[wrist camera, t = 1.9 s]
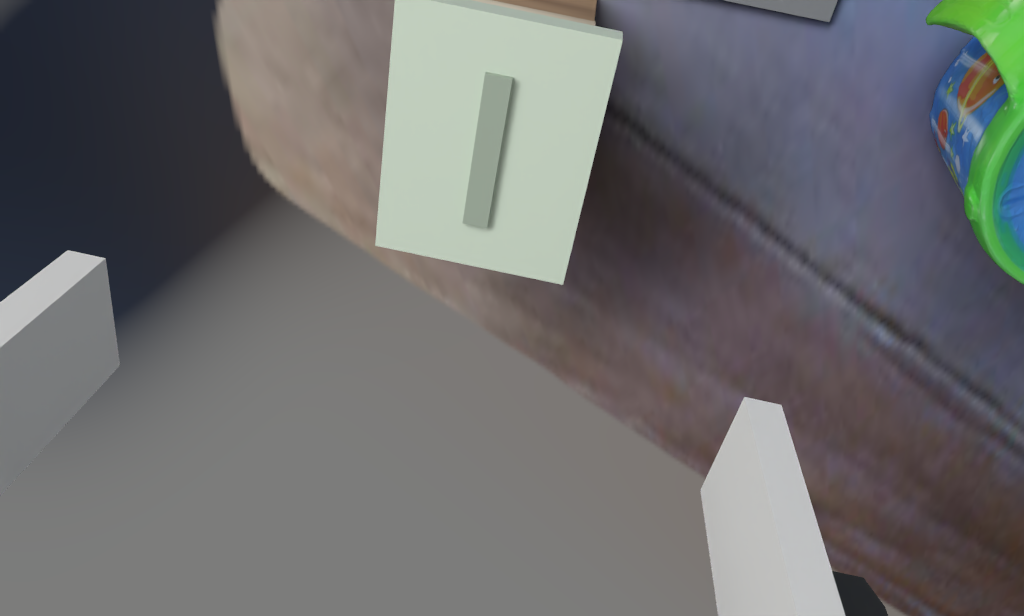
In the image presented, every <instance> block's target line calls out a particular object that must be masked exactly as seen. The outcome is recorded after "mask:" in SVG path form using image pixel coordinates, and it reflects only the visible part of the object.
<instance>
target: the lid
mask: <svg viewBox="0 0 1024 616" xmlns="http://www.w3.org/2000/svg"><path fill="white" fill-rule="evenodd" d="M622 42H623V32H622V31H617V30H613V29H608V28H603V27H598V26H593V25H588V24H584V23H579V22H574V21H569V20H564V19H559V18H555V17H550V16H545V15H540V14H535V13H530V12H526V11H521V10H516V9H511V8H506V7H501V6H497V5H492V4H487V3H482V2H477V1H472V0H395V7H394V19H393V31H392V44H391V56H390V69H389V81H388V94H387V106H386V119H385V131H384V144H383V156H382V169H381V181H380V193H379V206H378V218H377V231H376V243H375V246H380V247H385V248H389V249H394V250H399V251H404V252H409V253H413V254H418V255H423V256H428V257H432V258H437V259H442V260H447V261H452V262H456V263H461V264H466V265H471V266H475V267H480V268H485V269H490V270H494V271H499V272H504V273H509V274H514V275H518V276H523V277H528V278H533V279H537V280H542V281H547V282H552V283H557V284H561V285H563V283H564V279H565V275H566V270H567V266H568V262H569V258H570V254H571V250H572V246H573V242H574V238H575V234H576V230H577V226H578V221H579V217H580V213H581V209H582V205H583V201H584V197H585V193H586V189H587V185H588V181H589V176H590V172H591V168H592V164H593V160H594V156H595V152H596V148H597V144H598V140H599V136H600V132H601V127H602V123H603V119H604V115H605V111H606V107H607V103H608V99H609V95H610V91H611V87H612V82H613V78H614V74H615V70H616V66H617V62H618V58H619V54H620V50H621V46H622Z"/></svg>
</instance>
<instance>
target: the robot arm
mask: <svg viewBox="0 0 1024 616" xmlns="http://www.w3.org/2000/svg"><path fill="white" fill-rule="evenodd" d="M119 366H120V363H119V355H118V348H117V340H116V333H115V325H114V318H113V311H112V304H111V296H110V289H109V281H108V274H107V266H106V259H105V258H101V257H96V256H92V255H87V254H83V253H78V252H74V251H66V252H65V253H64V254H62V255H61V256H60V257H59V258H57V259H56V260H55V261H53V262H52V263H51V264H49V265H48V266H47V267H46V268H44V269H43V270H42V271H40V272H39V273H38V274H37V275H35V276H34V277H33V278H31V279H30V280H29V281H28V282H26V283H25V284H24V285H22V286H21V287H20V288H19V289H17V290H16V291H15V292H13V293H12V294H11V295H9V296H8V297H7V298H6V299H4V300H3V301H2V302H0V496H1V494H2V493H3V492H4V491H5V490H6V489H7V488H8V487H9V486H10V485H11V484H12V483H13V481H14V480H15V479H16V478H17V477H18V476H19V475H20V474H21V473H22V472H23V471H24V469H25V468H26V467H27V466H28V465H29V464H30V463H31V462H32V461H33V460H34V459H35V457H36V456H37V455H38V454H39V453H40V452H41V451H42V450H43V449H44V448H45V447H46V445H47V444H48V443H49V442H50V441H51V440H52V439H53V438H54V437H55V435H57V433H58V432H59V431H60V430H61V429H62V428H63V427H64V426H65V425H66V423H68V421H69V420H70V419H71V418H72V417H73V416H74V415H75V413H76V412H78V410H79V409H80V408H81V407H82V406H83V405H84V404H85V403H86V402H87V401H88V400H89V398H90V397H91V396H92V395H93V394H94V393H95V392H96V391H97V390H98V389H99V388H100V386H101V385H102V384H103V383H104V382H105V381H106V380H107V379H108V378H109V377H110V376H111V374H112V373H113V372H114V371H115V370H116V369H117V368H118V367H119ZM700 491H701V497H702V504H703V512H704V519H705V526H706V533H707V540H708V547H709V554H710V561H711V568H712V575H713V582H714V589H715V596H716V603H717V610H718V616H888V614H887V612H886V609H885V606H884V605H883V604H882V602H881V601H880V600H879V598H878V597H877V596H876V594H875V593H874V591H873V590H872V589H871V587H870V586H869V585H868V583H867V582H866V581H865V579H864V578H862V577H857V576H852V575H848V574H843V573H838V572H834V571H832V570H831V567H830V563H829V560H828V557H827V553H826V550H825V547H824V544H823V540H822V537H821V534H820V530H819V527H818V524H817V521H816V517H815V514H814V511H813V507H812V504H811V501H810V498H809V494H808V491H807V488H806V484H805V481H804V478H803V475H802V471H801V468H800V465H799V461H798V458H797V455H796V451H795V448H794V445H793V442H792V438H791V435H790V432H789V428H788V425H787V422H786V419H785V415H784V412H783V409H782V405H779V404H775V403H770V402H765V401H761V400H756V399H752V398H747V397H744V399H743V401H742V403H741V405H740V407H739V410H738V412H737V414H736V416H735V418H734V420H733V422H732V424H731V427H730V429H729V431H728V433H727V435H726V437H725V439H724V441H723V444H722V446H721V448H720V450H719V452H718V454H717V456H716V458H715V461H714V463H713V465H712V467H711V469H710V471H709V473H708V475H707V478H706V480H705V482H704V484H703V486H702V488H701V490H700Z"/></svg>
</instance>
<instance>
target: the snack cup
mask: <svg viewBox="0 0 1024 616" xmlns="http://www.w3.org/2000/svg"><path fill="white" fill-rule="evenodd" d="M926 23H927V24H928V25H933V24H935V25H941V26H945V27H948V28H952V29H955V30H959V31H962V32H964V33H967V34H970V35H973V36H974V37H973V38H972V39H971V40H970V42H969V43H968V44H967V45H966V46H965V47H964V48H963V49H961V51H960V54H959V55H958V57H957V58H956V59H955V60H954V61H953V62H952V64H951V65H950V67H949V68H948V70H947V71H946V73H945V74H944V76H943V77H942V79H941V81H940V83H939V85H938V87H937V89H936V92H935V97H934V101H933V107H932V110H931V112H930V121H931V128H932V131H933V134H934V137H935V141H936V145H937V147H938V149H939V151H940V153H941V155H942V157H943V159H944V161H945V163H946V165H947V167H948V168H949V171H950V173H951V174H952V176H953V178H954V180H955V182H956V184H957V186H958V188H959V189H960V191H961V193H962V195H963V197H964V208H965V214H966V216H967V218H968V219H969V220H970V223H971V226H972V228H973V231H974V233H975V235H976V237H977V239H978V241H979V243H980V245H981V246H982V248H983V249H984V250H985V252H986V253H987V254H988V255H989V256H990V257H991V259H992V260H993V261H994V262H995V263H996V264H997V265H998V266H999V267H1000V268H1001V269H1002V270H1003V271H1005V272H1006V273H1007V274H1008V275H1010V276H1011V277H1013V278H1014V279H1015V280H1017V281H1019V282H1020V283H1022V284H1024V0H943V1H941V2H940V3H939V4H938V5H937V6H936V7H935V8H934V9H933V10H932V11H931V12H930V13H929V15H928V16H927V18H926Z"/></svg>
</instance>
